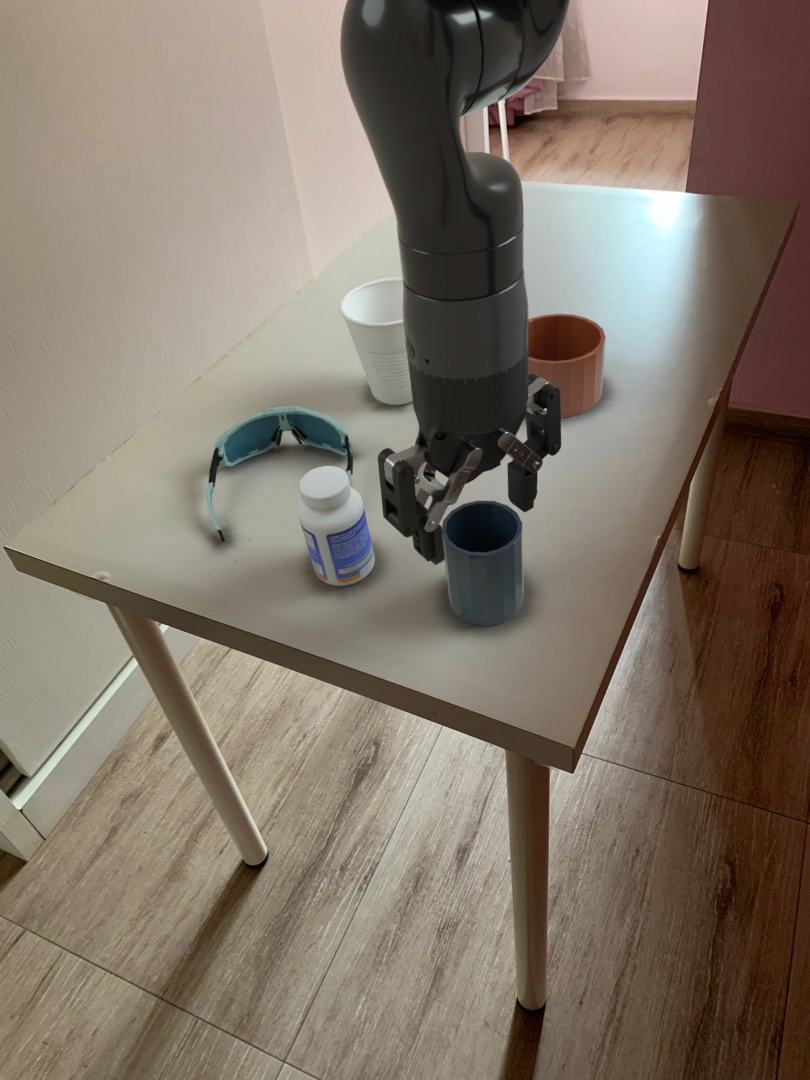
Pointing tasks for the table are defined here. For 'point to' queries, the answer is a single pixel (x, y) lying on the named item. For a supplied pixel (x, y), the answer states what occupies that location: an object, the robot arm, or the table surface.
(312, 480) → the pill bottle
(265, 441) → the sunglasses
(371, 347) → the cup
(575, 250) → the table surface
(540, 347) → the terracotta cup
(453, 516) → the slate cup
